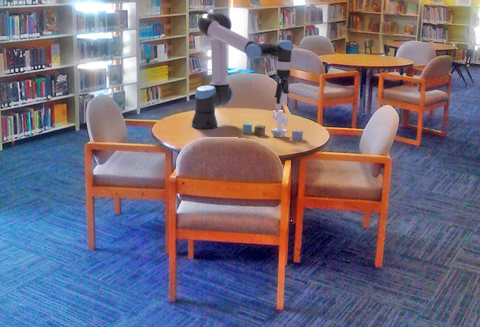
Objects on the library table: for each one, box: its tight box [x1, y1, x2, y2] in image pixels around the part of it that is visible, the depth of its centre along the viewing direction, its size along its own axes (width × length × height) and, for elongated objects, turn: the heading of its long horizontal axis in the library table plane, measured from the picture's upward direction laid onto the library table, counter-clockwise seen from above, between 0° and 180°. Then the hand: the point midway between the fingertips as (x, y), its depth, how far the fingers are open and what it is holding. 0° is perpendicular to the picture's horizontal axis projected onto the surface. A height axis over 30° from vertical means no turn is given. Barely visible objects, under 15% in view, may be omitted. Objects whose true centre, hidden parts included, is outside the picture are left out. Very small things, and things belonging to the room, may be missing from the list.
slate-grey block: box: [291, 129, 304, 142], centre depth 328 cm, size 5×5×5 cm
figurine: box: [270, 109, 289, 138], centre depth 332 cm, size 7×9×15 cm
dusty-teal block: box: [242, 122, 253, 134], centre depth 339 cm, size 5×5×5 cm
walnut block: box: [253, 124, 266, 137], centre depth 335 cm, size 5×5×5 cm
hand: (281, 107), depth 329 cm, fingers open, 13 cm apart
